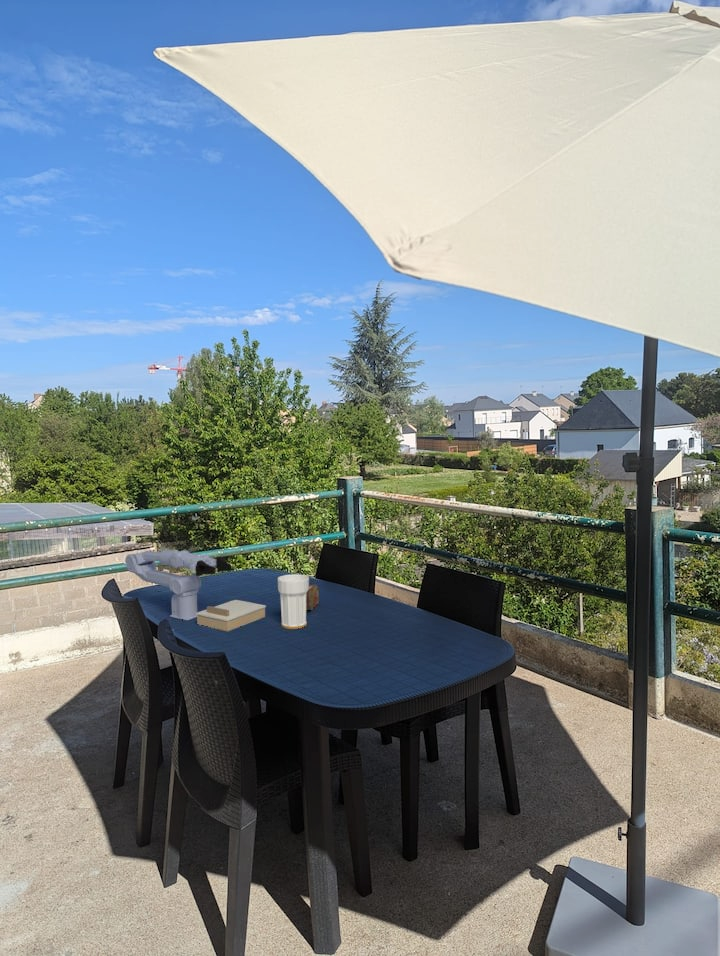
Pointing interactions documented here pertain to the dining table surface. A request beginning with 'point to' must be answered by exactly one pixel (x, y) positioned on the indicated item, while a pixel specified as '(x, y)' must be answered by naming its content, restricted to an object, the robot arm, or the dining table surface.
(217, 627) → the box
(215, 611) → the mailer lid
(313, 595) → the tin
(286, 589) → the cup
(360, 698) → the dining table surface
